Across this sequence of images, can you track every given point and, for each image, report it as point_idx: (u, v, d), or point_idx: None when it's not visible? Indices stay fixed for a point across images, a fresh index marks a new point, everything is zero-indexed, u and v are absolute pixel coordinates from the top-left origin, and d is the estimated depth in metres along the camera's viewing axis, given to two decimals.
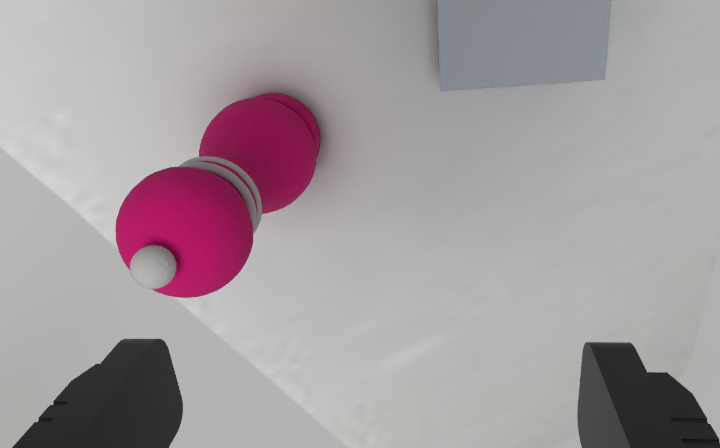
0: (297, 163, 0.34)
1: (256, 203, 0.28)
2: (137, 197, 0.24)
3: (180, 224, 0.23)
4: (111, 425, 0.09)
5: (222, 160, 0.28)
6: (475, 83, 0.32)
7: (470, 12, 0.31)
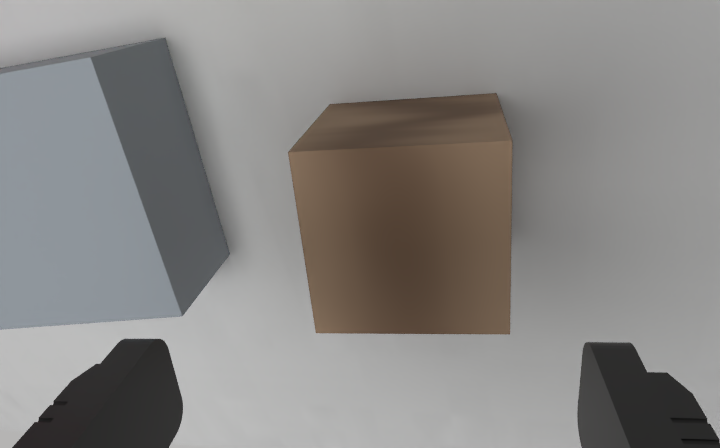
0: None
1: None
2: None
3: None
4: (111, 426, 0.09)
5: None
6: None
7: None
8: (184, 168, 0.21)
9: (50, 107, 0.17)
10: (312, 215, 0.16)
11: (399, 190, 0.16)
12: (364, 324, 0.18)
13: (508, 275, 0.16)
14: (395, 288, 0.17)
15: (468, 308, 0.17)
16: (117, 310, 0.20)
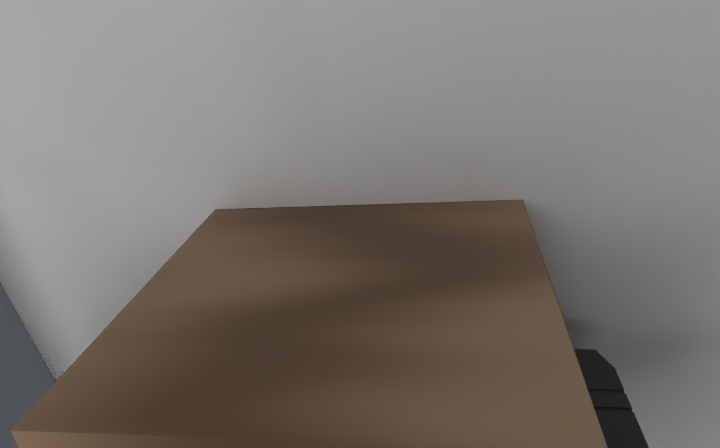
0: None
1: None
2: None
3: None
4: None
5: None
6: None
7: None
8: None
9: None
10: None
11: None
12: None
13: None
14: None
15: None
16: None
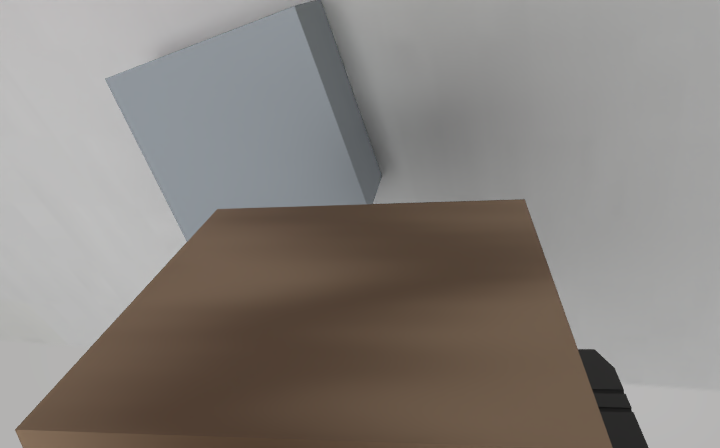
0: None
1: None
2: None
3: None
4: None
5: None
6: (132, 120, 0.25)
7: (205, 88, 0.24)
8: (348, 100, 0.26)
9: (263, 52, 0.23)
10: None
11: None
12: None
13: None
14: None
15: None
16: None
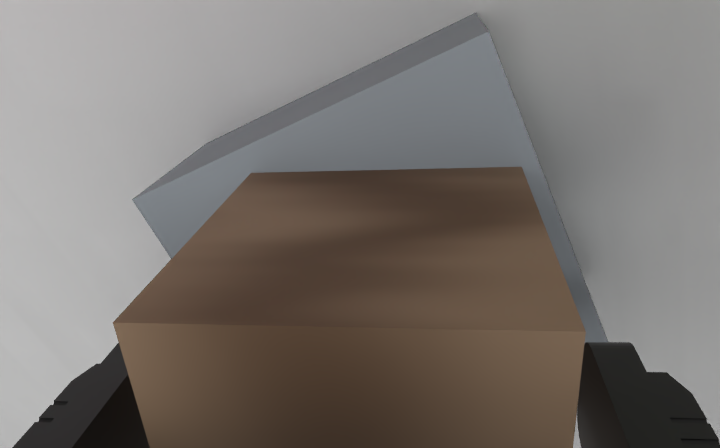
0: None
1: None
2: None
3: None
4: (112, 426, 0.09)
5: None
6: None
7: None
8: None
9: (424, 126, 0.12)
10: (172, 433, 0.08)
11: (342, 405, 0.08)
12: None
13: None
14: None
15: None
16: None
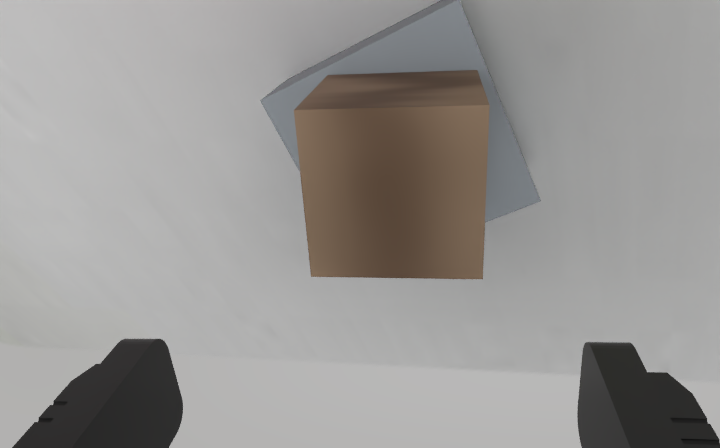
0: None
1: None
2: None
3: None
4: (111, 426, 0.09)
5: None
6: (288, 139, 0.24)
7: None
8: None
9: (426, 51, 0.22)
10: (312, 168, 0.18)
11: (390, 147, 0.18)
12: (354, 268, 0.20)
13: (482, 225, 0.19)
14: (383, 236, 0.19)
15: (447, 255, 0.19)
16: None
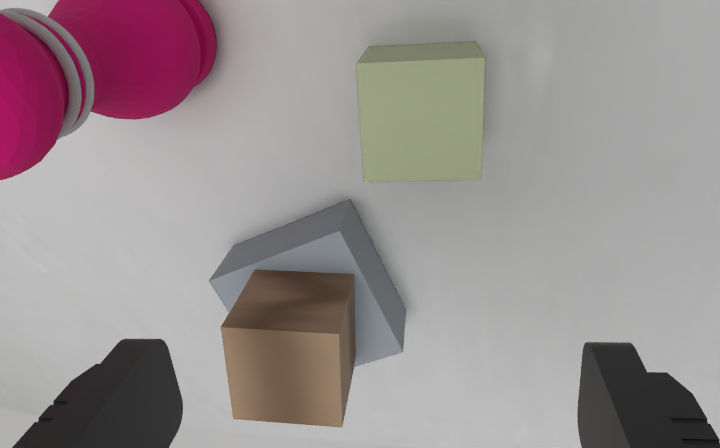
0: (124, 116, 0.29)
1: None
2: None
3: None
4: (111, 426, 0.09)
5: (90, 98, 0.22)
6: (229, 305, 0.35)
7: None
8: (377, 268, 0.37)
9: (319, 259, 0.33)
10: (233, 358, 0.29)
11: (280, 351, 0.29)
12: (261, 416, 0.31)
13: (340, 397, 0.29)
14: (278, 399, 0.30)
15: (319, 412, 0.30)
16: (364, 357, 0.36)
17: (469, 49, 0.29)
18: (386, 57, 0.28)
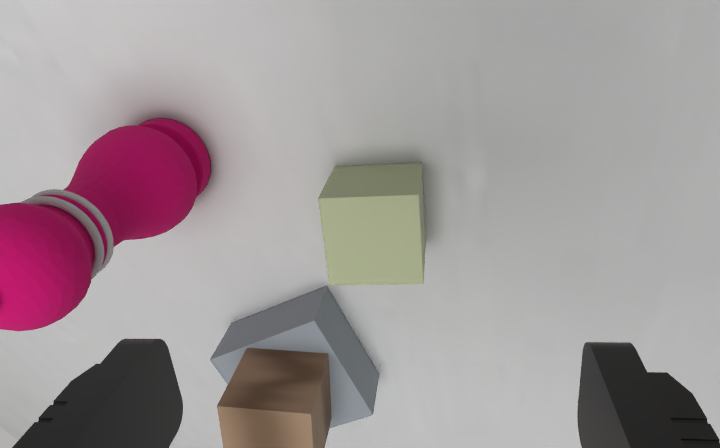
0: None
1: None
2: (40, 261, 0.24)
3: (24, 311, 0.25)
4: (111, 426, 0.09)
5: (111, 250, 0.29)
6: (227, 378, 0.42)
7: None
8: (351, 342, 0.43)
9: (299, 342, 0.40)
10: (227, 429, 0.36)
11: (265, 425, 0.36)
12: None
13: None
14: None
15: None
16: (341, 419, 0.42)
17: (411, 178, 0.36)
18: (343, 188, 0.35)
